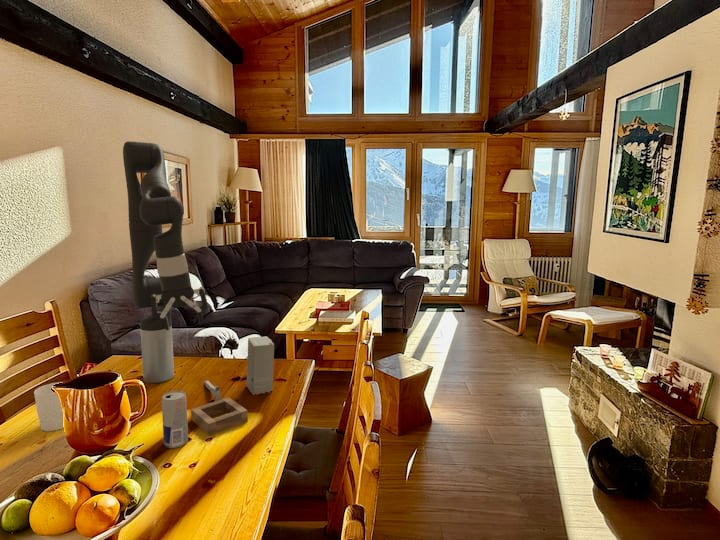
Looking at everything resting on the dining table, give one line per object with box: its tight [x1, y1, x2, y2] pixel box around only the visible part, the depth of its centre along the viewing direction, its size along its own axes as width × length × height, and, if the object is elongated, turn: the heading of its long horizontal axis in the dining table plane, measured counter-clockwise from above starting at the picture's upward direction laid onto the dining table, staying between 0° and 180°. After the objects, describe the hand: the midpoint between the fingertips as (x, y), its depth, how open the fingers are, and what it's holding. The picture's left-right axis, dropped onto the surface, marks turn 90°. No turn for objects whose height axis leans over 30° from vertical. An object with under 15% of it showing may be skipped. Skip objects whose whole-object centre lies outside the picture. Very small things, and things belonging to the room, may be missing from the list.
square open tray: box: [190, 397, 249, 436], centre depth 112 cm, size 11×11×3 cm
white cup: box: [33, 381, 64, 432], centre depth 108 cm, size 8×8×10 cm
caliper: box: [204, 380, 222, 402], centre depth 127 cm, size 20×1×6 cm, turn 30°
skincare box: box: [246, 335, 275, 396], centre depth 131 cm, size 8×7×16 cm
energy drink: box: [161, 390, 189, 449], centre depth 101 cm, size 5×5×12 cm
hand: (184, 326), depth 119 cm, fingers open, 8 cm apart
